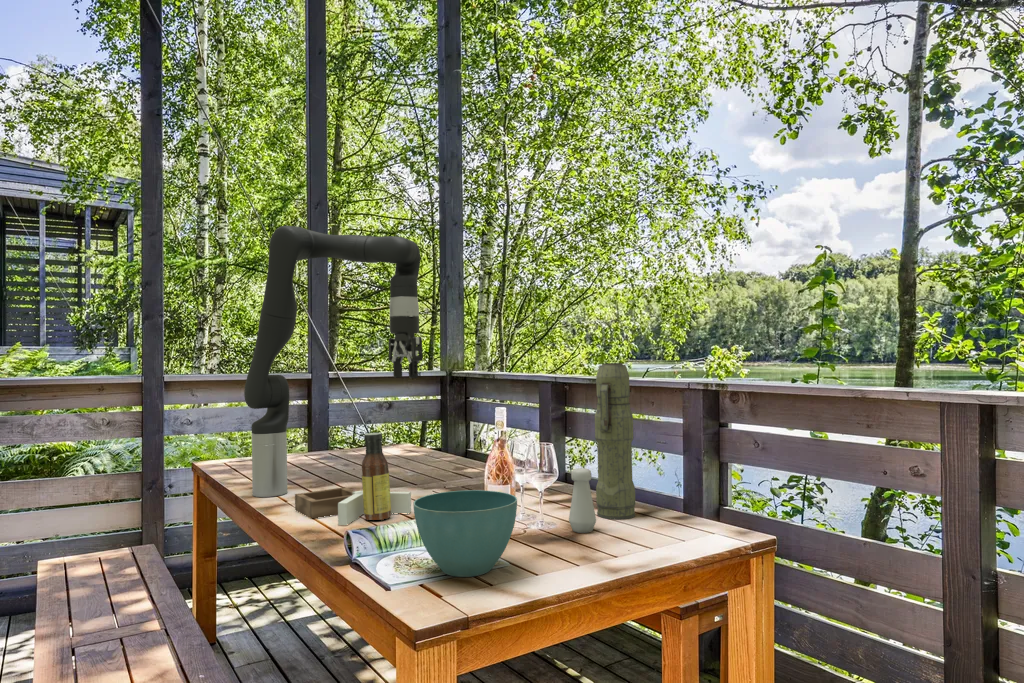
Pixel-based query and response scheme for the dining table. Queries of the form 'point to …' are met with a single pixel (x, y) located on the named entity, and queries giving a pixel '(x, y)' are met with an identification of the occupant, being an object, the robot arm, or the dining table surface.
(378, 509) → the sauce bottle
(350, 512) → the v block
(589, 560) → the dining table surface
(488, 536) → the plant pot
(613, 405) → the thermos
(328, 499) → the collar
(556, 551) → the dining table surface
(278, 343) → the robot arm
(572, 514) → the salt shaker
